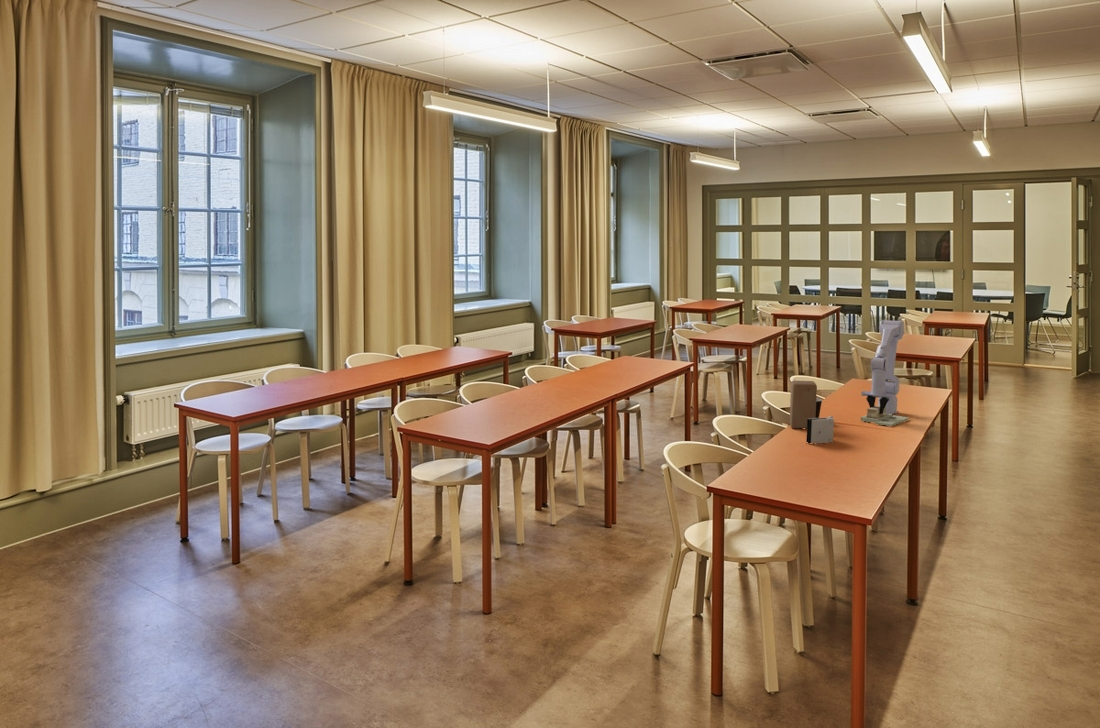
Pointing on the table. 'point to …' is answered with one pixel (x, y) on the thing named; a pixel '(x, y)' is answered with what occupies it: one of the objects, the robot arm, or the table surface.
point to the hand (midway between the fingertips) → (876, 413)
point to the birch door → (875, 412)
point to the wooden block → (802, 403)
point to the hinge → (820, 430)
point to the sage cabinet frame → (886, 420)
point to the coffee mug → (818, 407)
